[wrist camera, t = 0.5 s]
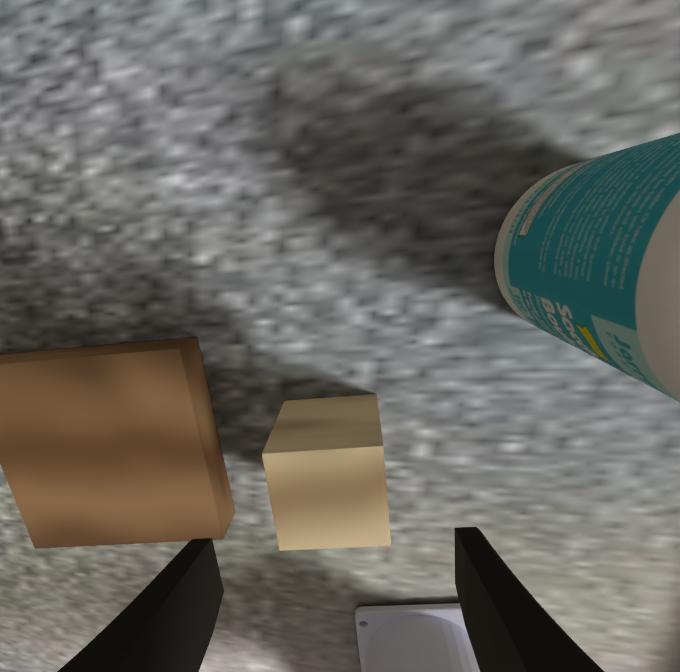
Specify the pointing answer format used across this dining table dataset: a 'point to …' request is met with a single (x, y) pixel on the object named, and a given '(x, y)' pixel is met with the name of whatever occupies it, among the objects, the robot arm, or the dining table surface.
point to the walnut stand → (113, 444)
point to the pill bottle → (603, 259)
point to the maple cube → (328, 474)
